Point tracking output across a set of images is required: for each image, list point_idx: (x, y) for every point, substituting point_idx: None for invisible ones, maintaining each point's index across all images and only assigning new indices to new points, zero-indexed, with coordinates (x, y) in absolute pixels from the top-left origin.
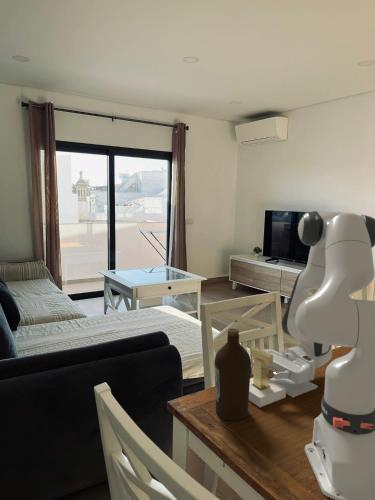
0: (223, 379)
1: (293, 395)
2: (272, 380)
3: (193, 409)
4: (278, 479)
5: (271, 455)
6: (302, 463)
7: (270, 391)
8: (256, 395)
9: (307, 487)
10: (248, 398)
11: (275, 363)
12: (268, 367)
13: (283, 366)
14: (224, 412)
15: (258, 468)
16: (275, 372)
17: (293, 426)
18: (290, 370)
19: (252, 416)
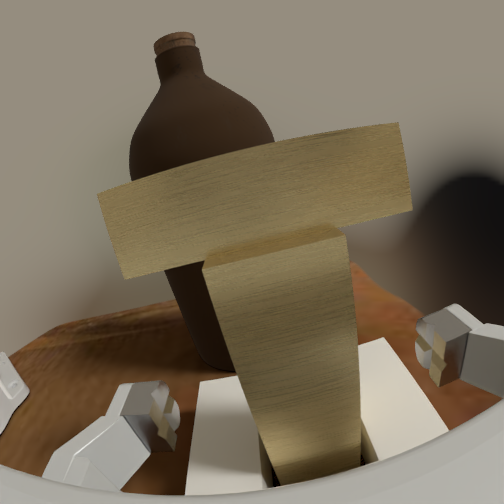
0: None
1: None
2: None
3: None
4: (59, 335)
5: (81, 347)
6: (31, 371)
7: (214, 452)
8: (227, 378)
9: (24, 352)
10: (186, 313)
11: (301, 484)
12: (230, 351)
13: (113, 491)
14: None
15: (89, 325)
16: (145, 387)
17: (67, 434)
18: (21, 473)
19: (190, 373)
